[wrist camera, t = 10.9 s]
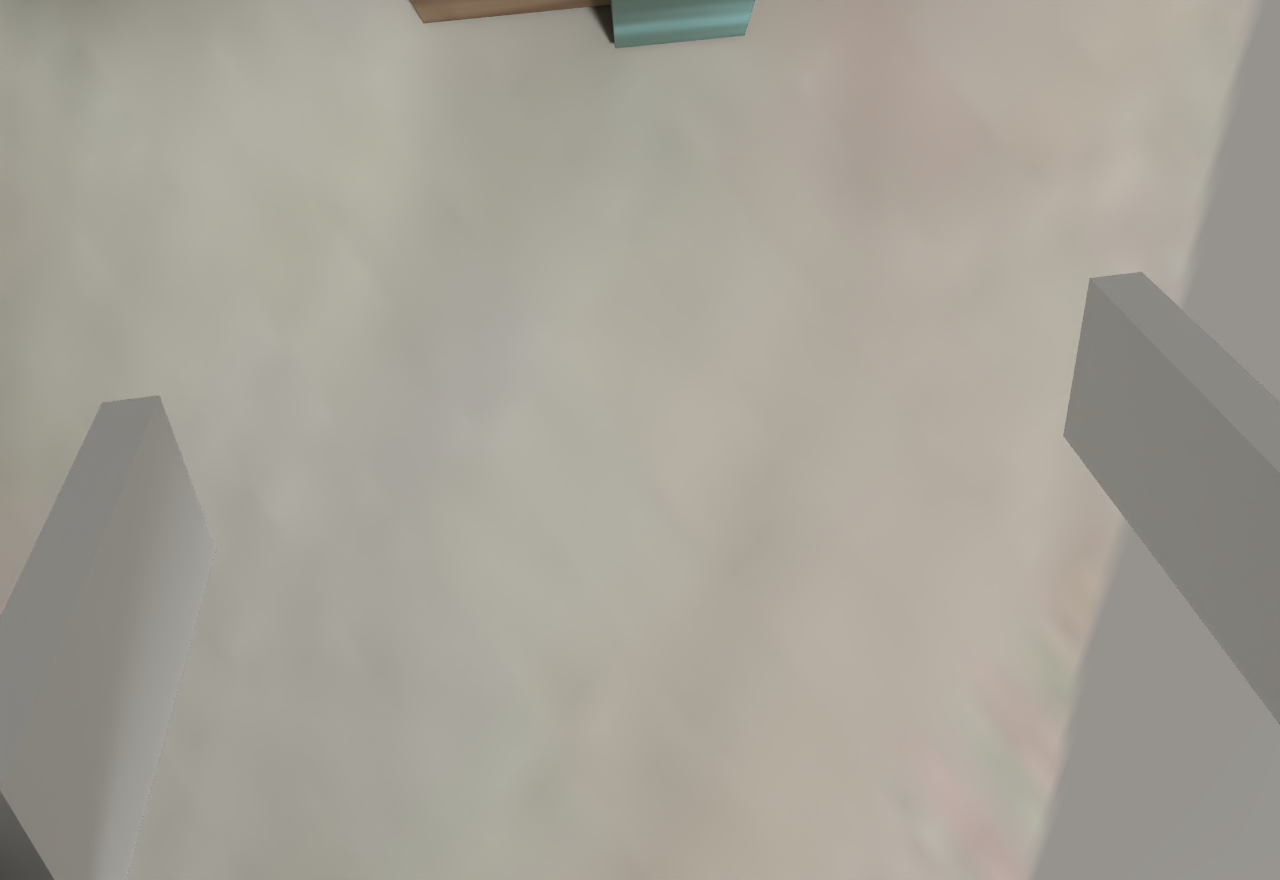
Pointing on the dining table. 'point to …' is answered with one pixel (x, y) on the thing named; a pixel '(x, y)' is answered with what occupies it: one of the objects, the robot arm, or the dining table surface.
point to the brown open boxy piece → (617, 16)
